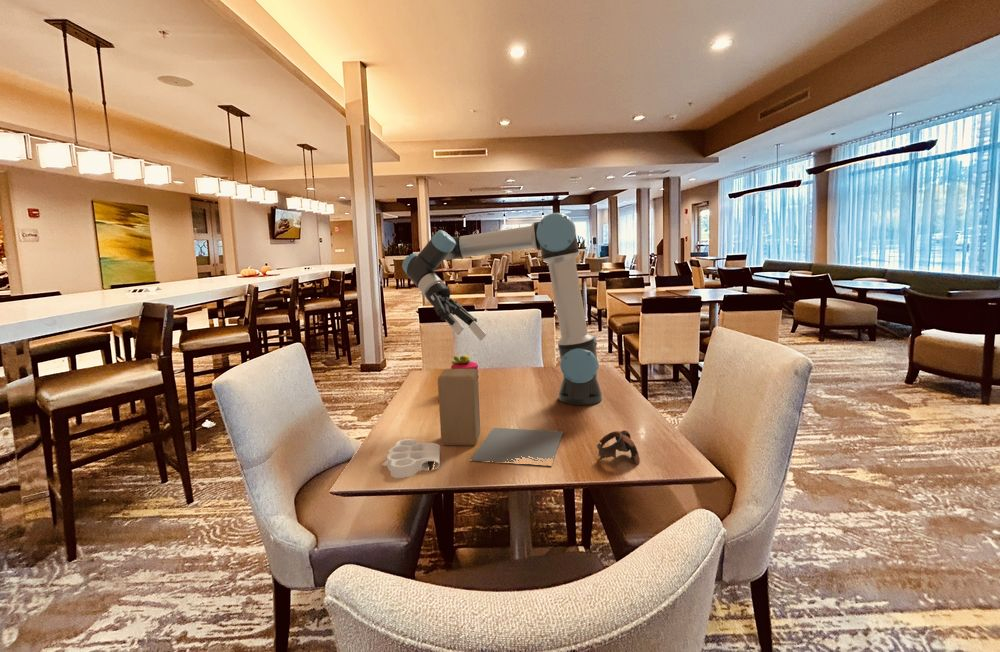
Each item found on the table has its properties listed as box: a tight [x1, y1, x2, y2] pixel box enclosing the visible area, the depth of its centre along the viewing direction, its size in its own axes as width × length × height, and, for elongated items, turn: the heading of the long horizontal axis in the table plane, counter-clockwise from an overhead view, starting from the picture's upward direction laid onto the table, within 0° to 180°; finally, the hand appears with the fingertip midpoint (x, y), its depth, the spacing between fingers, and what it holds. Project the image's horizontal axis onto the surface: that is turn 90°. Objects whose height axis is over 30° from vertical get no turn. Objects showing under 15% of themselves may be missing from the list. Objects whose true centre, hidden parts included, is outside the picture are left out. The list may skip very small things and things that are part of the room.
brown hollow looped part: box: [596, 429, 641, 466], centre depth 129 cm, size 12×10×8 cm
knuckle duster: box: [381, 438, 441, 479], centre depth 131 cm, size 3×18×15 cm
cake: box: [450, 354, 480, 386], centre depth 194 cm, size 10×11×15 cm
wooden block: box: [437, 368, 481, 446], centre depth 144 cm, size 10×10×20 cm
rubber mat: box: [470, 427, 564, 462], centre depth 139 cm, size 21×24×1 cm
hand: (472, 334), depth 156 cm, fingers open, 13 cm apart
